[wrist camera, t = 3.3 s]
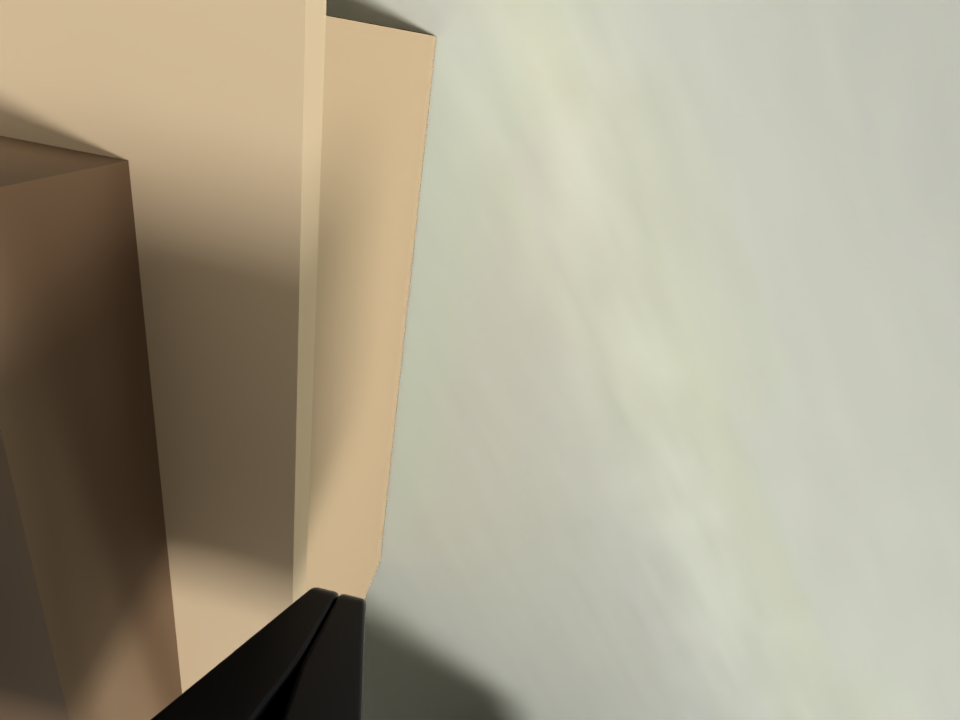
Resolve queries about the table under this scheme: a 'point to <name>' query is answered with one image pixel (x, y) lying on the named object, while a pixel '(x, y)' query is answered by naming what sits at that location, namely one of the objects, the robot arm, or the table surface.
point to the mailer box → (362, 287)
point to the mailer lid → (152, 340)
